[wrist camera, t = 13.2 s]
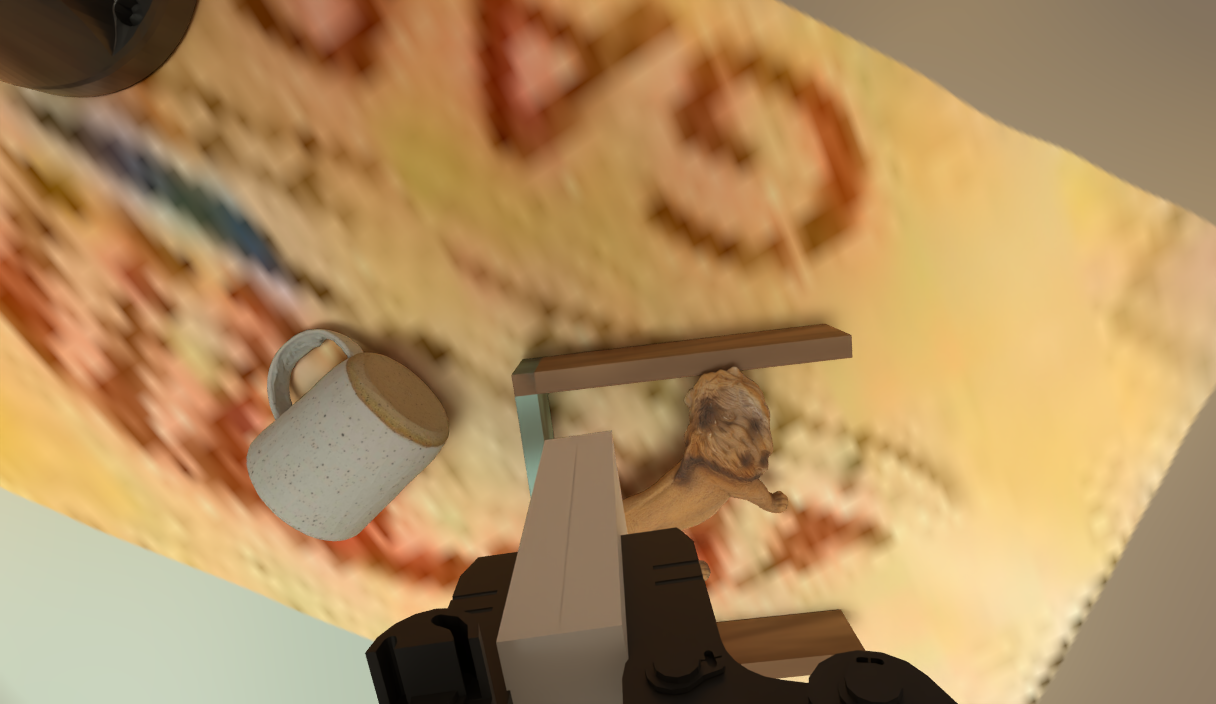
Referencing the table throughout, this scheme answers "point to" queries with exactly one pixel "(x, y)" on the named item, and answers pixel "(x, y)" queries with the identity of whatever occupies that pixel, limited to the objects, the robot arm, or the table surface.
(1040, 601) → the table surface
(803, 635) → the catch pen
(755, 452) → the lion figurine
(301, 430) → the ceramic mug
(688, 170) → the table surface
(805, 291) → the table surface
